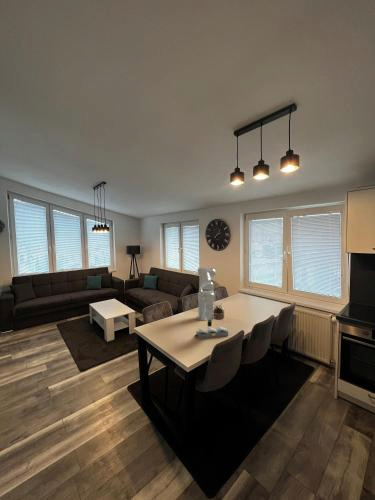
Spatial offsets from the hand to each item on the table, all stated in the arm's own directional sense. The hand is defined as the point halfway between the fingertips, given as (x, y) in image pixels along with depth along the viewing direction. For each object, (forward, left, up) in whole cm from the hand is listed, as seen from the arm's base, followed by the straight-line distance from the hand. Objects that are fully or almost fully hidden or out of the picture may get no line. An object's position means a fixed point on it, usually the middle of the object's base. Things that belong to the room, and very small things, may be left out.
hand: (209, 326), depth 189 cm
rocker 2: (0, +3, -4) cm, 5 cm away
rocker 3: (0, +13, -4) cm, 13 cm away
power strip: (-1, +2, -10) cm, 10 cm away
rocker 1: (0, -6, -4) cm, 7 cm away
